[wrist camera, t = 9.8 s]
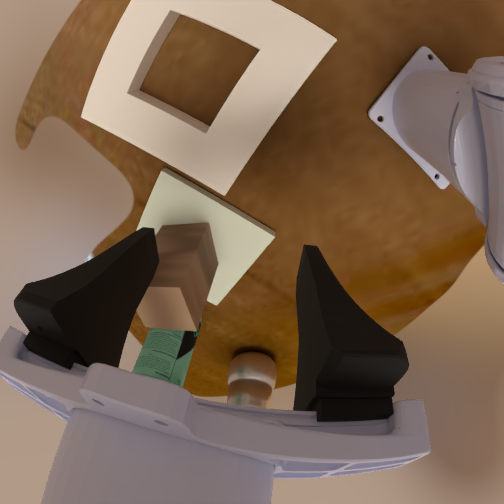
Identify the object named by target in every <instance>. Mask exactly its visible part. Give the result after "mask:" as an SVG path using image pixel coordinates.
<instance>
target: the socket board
mask: <svg viewBox="0 0 504 504" xmlns="http://www.w3.org/2000/svg"><path fill="white" fill-rule="evenodd" d="M180 15H184V16H186V17H189V18H192V19H194V20H197V21H199V22H202V23H204V24H206V25H209V26H211V27H213V28H216V29H218V30H220V31H222V32H224V33H227V34H229V35H231V36H233V37H235V38H237V39H239V40H241V41H243V42H245V43H247V44H249V45H251V46H253V47H255V48H256V49H258V50H260V51H259V52H258V53H257V55H256V56H255V58H254V59H253V61H252V62H251V63H250V65H249V66H248V68H247V69H246V71H245V72H244V74H243V75H242V77H241V78H240V80H239V81H238V83H237V84H236V86H235V87H234V89H233V91H232V92H231V94H230V95H229V97H228V98H227V100H226V102H225V103H224V105H223V106H222V108H221V110H220V111H219V113H218V115H217V116H216V118H215V120H214V121H213V123H212V125H211V126H208V125H206V124H205V123H203V122H201V121H199V120H197V119H195V118H194V117H192V116H190V115H188V114H186V113H184V112H182V111H180V110H178V109H177V108H175V107H173V106H171V105H169V104H167V103H165V102H163V101H161V100H159V99H157V98H155V97H153V96H150V95H148V94H146V93H144V92H142V91H140V88H141V85H142V83H143V81H144V79H145V77H146V75H147V73H148V71H149V69H150V67H151V65H152V63H153V61H154V59H155V57H156V55H157V54H158V52H159V50H160V48H161V46H162V44H163V43H164V41H165V39H166V37H167V36H168V34H169V32H170V31H171V29H172V27H173V26H174V24H175V22H176V21H177V19H178V18H179V16H180ZM336 41H337V39H335V38H334V37H333V36H331V35H330V34H328V33H327V32H325V31H324V30H322V29H320V28H319V27H317V26H316V25H314V24H312V23H311V22H309V21H308V20H306V19H304V18H302V17H301V16H299V15H297V14H295V13H294V12H292V11H290V10H288V9H286V8H284V7H283V6H281V5H279V4H277V3H275V2H273V1H271V0H131V2H130V4H129V5H128V7H127V9H126V11H125V12H124V14H123V16H122V18H121V20H120V22H119V24H118V25H117V27H116V29H115V31H114V33H113V35H112V37H111V40H110V42H109V44H108V46H107V48H106V50H105V53H104V55H103V57H102V60H101V62H100V64H99V67H98V69H97V72H96V74H95V77H94V79H93V82H92V85H91V88H90V90H89V93H88V96H87V99H86V102H85V105H84V108H83V112H82V115H81V117H82V118H84V119H86V120H88V121H90V122H92V123H93V124H95V125H97V126H99V127H101V128H103V129H105V130H107V131H109V132H111V133H113V134H115V135H116V136H118V137H120V138H122V139H124V140H126V141H128V142H130V143H131V144H133V145H135V146H137V147H139V148H141V149H143V150H144V151H146V152H148V153H150V154H152V155H153V156H155V157H157V158H159V159H161V160H163V161H164V162H166V163H168V164H170V165H171V166H173V167H175V168H177V169H179V170H180V171H182V172H184V173H186V174H187V175H189V176H191V177H193V178H194V179H196V180H198V181H200V182H201V183H203V184H205V185H207V186H208V187H210V188H212V189H213V190H215V191H217V192H219V193H220V194H222V195H224V196H225V195H226V193H227V192H228V190H229V189H230V187H231V186H232V184H233V183H234V181H235V179H236V178H237V176H238V175H239V173H240V172H241V170H242V169H243V167H244V166H245V164H246V163H247V161H248V160H249V159H250V157H251V156H252V154H253V153H254V151H255V150H256V148H257V147H258V145H259V144H260V142H261V141H262V140H263V138H264V137H265V135H266V134H267V132H268V131H269V130H270V128H271V127H272V125H273V124H274V122H275V121H276V120H277V118H278V117H279V115H280V114H281V113H282V111H283V110H284V109H285V107H286V106H287V104H288V103H289V102H290V100H291V99H292V98H293V96H294V95H295V94H296V92H297V91H298V90H299V88H300V87H301V86H302V84H303V83H304V82H305V80H306V79H307V78H308V76H309V75H310V74H311V72H312V71H313V70H314V68H315V67H316V66H317V65H318V63H319V62H320V61H321V60H322V58H323V57H324V56H325V54H326V53H327V52H328V51H329V49H330V48H331V47H332V46H333V44H334V43H335V42H336Z"/></svg>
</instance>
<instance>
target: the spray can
mask: <svg viewBox="0 0 504 504" xmlns="http://www.w3.org/2000/svg"><path fill="white" fill-rule="evenodd" d="M201 322H202V317H201V320H200V323H199V327H198V330H197V331H185V330H173V329H162V328H152V327H151V328H150V331H149V333H148V335H147V337H146V340H145V342H144V345H143V347H142V349H141V352H140V354H139V357H138V359H137V361H136V364H135V366H134V369H133V371H132V372H133V373H136V374H140V375H144V376H148V377H151V378H155V379H159V380H163V381H166V382H169V383H172V384H175V385H178V386H180V387H183V384H184V380H185V377H186V373H187V370H188V366H189V363H190V359H191V356H192V353H193V349H194V346H195V343H196V339H197V336H198V333H199V329H200V326H201Z"/></svg>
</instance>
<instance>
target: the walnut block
mask: <svg viewBox="0 0 504 504" xmlns="http://www.w3.org/2000/svg"><path fill="white" fill-rule="evenodd" d="M155 237H156V243H157V249H158V255H159V260H160V261H159V264H158V267H157V270H156V272H155V275H154V277H153V279H152V281H151V283H150V285H149V287H148V289H147V291H146V293H145V295H144V297H143V299H142V301H141V302H140V304H139V306H138V308H137V310H136V311H137V313H138V315H139V317H140V318H141V320H142V322H143V324H144V325H145V327H152V328H162V329H173V330H185V331H197V330H198V327H199V323H200V320H201V317H202V314H203V311H204V307H205V304H206V301H207V298H208V295H209V292H210V289H211V286H212V282H213V279H214V276H215V273H216V270H217V267H218V259H217V255H216V251H215V246H214V242H213V238H212V233H211V229H210V224H209V223H192V224H175V225H162V227H161V228H160V230H159V231H158V232H157V234H156V235H155Z"/></svg>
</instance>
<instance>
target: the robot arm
mask: <svg viewBox="0 0 504 504" xmlns="http://www.w3.org/2000/svg"><path fill="white" fill-rule="evenodd" d="M428 55H430V56H431V60H429V58H428ZM368 116H369V118H370V119H371V120H372V121H373V122H375V123H376V124H377V125H378V126H379V127H380V128H381V129H383V130H384V131H385V132H386V133H387V134H388V135H389V136H390V137H391V138H392V139H393V140H394V141H395V142H396V143H398V144H399V145H400V146H401V147H402V148H403V149H404V150H405V151H406V152H407V153H408V154H409V155H410V156H411V157H412V158H413V159H414V161H415V162H416V163H417V164H418V165H419V166H420V167H421V168H422V169H423V170H424V171H425V172H426V173H427V174H428V176H429V177H430V178H431V179H432V180H433V181H434V182H435V183H436V185H437V186H438V187H439V188H440V189H445V188H446V187H447V186H448V185H449V183H451V184H452V185H453V186H454V187H455V188H456V189H457V190H458V191H459V192H460V193H461V194H462V195H463V196H464V197H465V198H466V199H467V200H468V201H469V202H470V203H471V204H472V205H473V206H474V208H475V213H476V217H477V218H478V219H479V220H480V221H481V222H482V223H483V225H484V226H485V227H486V228H487V233H486V238H485V255H486V259H487V262H488V264H489V266H490V268H491V270H492V272H493V273H494V274H495V276H496V277H497V278H498V279H499V280H500V281H501V282H502V283H503V284H504V56H494V57H484V58H479V59H477V60H476V61H475V63H474V64H473V66H472V68H471V69H469V70H468V74H465V73H458V72H451V71H449V70H448V68H447V67H446V66H445V65H444V64H443V63H442V62H441V61H440V60H439V58H438V57H437V56H436V55H435V54H434V53H433V52H432V51H431V50H430V49H429V48H428V47H425V46H424V47H420V48H419V49H418V50H417V52H416V53H415V54H414V55H413V57H412V58H411V59H410V60H409V61H408V63H407V64H406V65H405V66H404V68H403V69H402V70H401V71H400V73H399V74H398V75H397V76H396V77H395V79H394V80H393V81H392V82H391V84H390V85H389V86H388V87H387V88H386V90H385V91H384V92H383V93H382V95H381V96H380V97H379V98H378V100H377V101H376V102H375V103H374V104H373V106H372V107H371V108H370V109H369V111H368ZM378 116H382V121H380V122H378V120H377V118H378ZM436 174H438V176H437V177H436V178H435V175H436ZM159 261H160V260H159V255H158V249H157V243H156V237H155V230H154V228H148V227H142V228H141V229H139V230H137V231H135V232H134V233H132V234H131V235H129V236H128V237H126V238H125V239H123V240H122V241H120V242H118V243H117V244H115V245H114V246H112V247H111V248H109V249H108V250H106V251H104V252H103V253H101V254H99V255H98V256H96V257H94V258H93V259H91V260H89V261H87V262H85V263H83V264H81V265H79V266H77V267H75V268H73V269H70V270H68V271H66V272H64V273H61V274H58V275H56V276H53V277H50V278H47V279H43V280H40V281H36V282H32V283H28V284H26V285H25V286H24V288H23V289H22V290H21V292H20V293H19V294H18V296H17V297H16V298H15V300H14V307H15V309H16V312H17V313H18V315H19V317H20V318H21V320H22V321H23V323H24V324H25V325H26V327H27V328H28V330H29V331H30V332H29V334H28V335H27V336H26V335H25V334H24V333H23V332H21V331H19V330H17V329H15V328H13V327H12V326H10V327H9V328H8V330H7V331H6V333H5V334H4V336H3V338H2V339H1V341H0V375H1V376H2V377H3V378H4V379H5V380H6V381H7V382H8V383H9V384H10V385H11V386H12V387H13V388H14V389H16V390H17V391H19V392H20V393H22V394H23V395H25V396H26V397H28V398H29V399H31V400H32V401H34V402H35V403H37V404H39V405H40V406H42V407H43V408H45V409H47V410H48V411H50V412H51V413H53V414H55V415H57V416H58V417H60V418H62V419H63V420H65V421H67V422H68V423H67V426H66V428H65V431H64V433H63V436H62V439H61V441H60V444H59V447H58V450H57V453H56V456H55V459H54V462H53V465H52V468H51V471H50V474H49V477H48V481H47V484H46V488H45V491H44V495H43V499H42V502H41V504H271V496H272V487H273V478H281V479H288V478H289V479H291V478H292V479H293V478H319V477H332V476H343V475H351V474H359V473H366V472H373V471H379V470H386V469H391V468H397V467H400V466H403V465H405V464H407V463H409V462H412V461H414V460H416V459H418V458H421V457H422V456H425V455H427V454H429V453H430V452H431V447H430V440H429V432H428V426H427V419H426V414H425V408H424V402H423V399H413V400H403V401H398V402H395V403H392V397H393V396H394V394H395V392H394V385H395V384H396V383H397V382H398V381H399V380H400V379H401V378H402V377H403V375H404V374H405V373H406V371H407V370H408V367H409V362H408V358H407V353H406V350H405V347H404V344H403V342H402V341H400V340H399V339H398V338H396V337H395V336H393V335H392V334H390V333H389V332H388V331H386V330H385V329H384V328H382V327H381V326H380V325H379V324H377V323H376V322H375V321H374V320H373V319H372V318H370V317H369V316H368V315H367V314H366V313H365V312H364V311H363V310H362V309H361V308H360V307H359V306H358V305H357V304H356V303H355V302H354V300H353V299H352V298H351V297H350V296H349V295H348V293H347V292H346V291H345V290H344V288H343V287H342V286H341V284H340V283H339V281H338V280H337V278H336V277H335V275H334V274H333V272H332V271H331V269H330V268H329V266H328V264H327V263H326V261H325V259H324V257H323V256H322V254H321V252H320V250H319V248H318V247H317V246H312V245H304V246H303V251H302V256H301V261H300V266H299V270H298V275H297V285H296V303H297V317H298V331H299V351H298V367H297V380H296V390H295V400H294V408H293V410H279V409H267V408H257V407H249V406H241V405H234V404H226V403H220V402H214V401H208V400H203V399H198V398H194V397H193V396H192V394H191V393H190V392H189V391H187V390H185V389H184V388H182V387H180V386H178V385H175V384H172V383H169V382H166V381H163V380H159V379H155V378H151V377H148V376H144V375H140V374H136V373H133V372H129V371H126V370H123V369H119V368H118V367H119V363H120V359H121V354H122V350H123V347H124V343H125V340H126V337H127V333H128V331H129V328H130V325H131V322H132V319H133V317H134V315H135V312H136V310H137V308H138V306H139V304H140V302H141V301H142V299H143V297H144V295H145V293H146V291H147V289H148V287H149V285H150V283H151V281H152V279H153V277H154V275H155V272H156V270H157V267H158V264H159Z"/></svg>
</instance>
